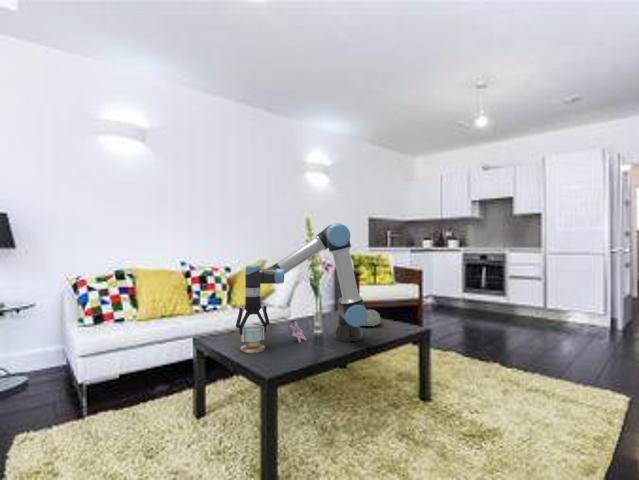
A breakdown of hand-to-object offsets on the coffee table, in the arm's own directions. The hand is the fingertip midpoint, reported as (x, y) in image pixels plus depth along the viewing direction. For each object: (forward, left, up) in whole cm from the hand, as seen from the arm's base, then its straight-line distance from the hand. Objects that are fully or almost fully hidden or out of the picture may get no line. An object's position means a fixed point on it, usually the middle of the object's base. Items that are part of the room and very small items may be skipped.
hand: (252, 340), depth 186 cm
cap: (0, 0, 0) cm, 0 cm away
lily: (-9, -25, -5) cm, 27 cm away
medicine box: (+11, -10, -5) cm, 16 cm away
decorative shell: (-24, -80, -5) cm, 84 cm away
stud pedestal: (0, 0, -5) cm, 5 cm away
